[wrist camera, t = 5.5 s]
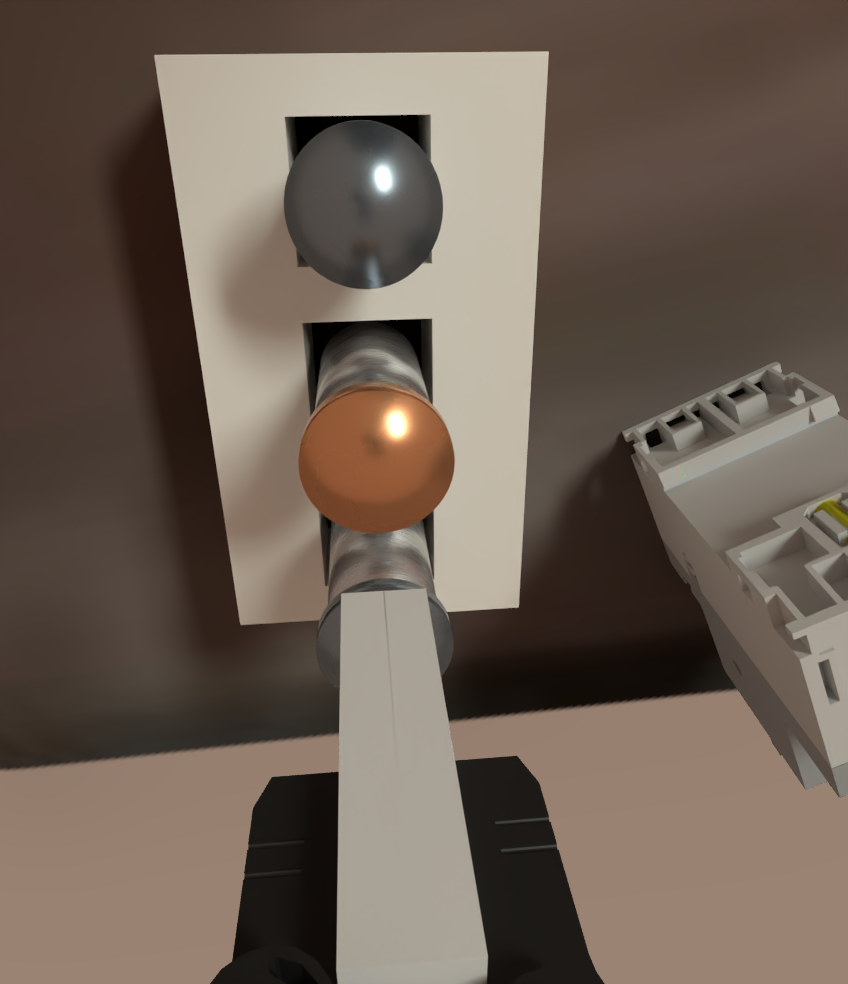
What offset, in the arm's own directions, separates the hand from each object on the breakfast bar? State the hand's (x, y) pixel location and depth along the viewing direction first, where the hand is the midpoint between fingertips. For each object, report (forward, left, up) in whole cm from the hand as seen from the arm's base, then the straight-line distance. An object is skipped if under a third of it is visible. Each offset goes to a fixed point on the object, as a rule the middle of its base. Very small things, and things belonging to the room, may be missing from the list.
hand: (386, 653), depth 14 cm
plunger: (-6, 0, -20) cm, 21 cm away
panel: (0, 0, -21) cm, 21 cm away
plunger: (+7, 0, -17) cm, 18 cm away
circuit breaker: (+10, +18, -21) cm, 29 cm away
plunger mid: (0, 0, -17) cm, 17 cm away
